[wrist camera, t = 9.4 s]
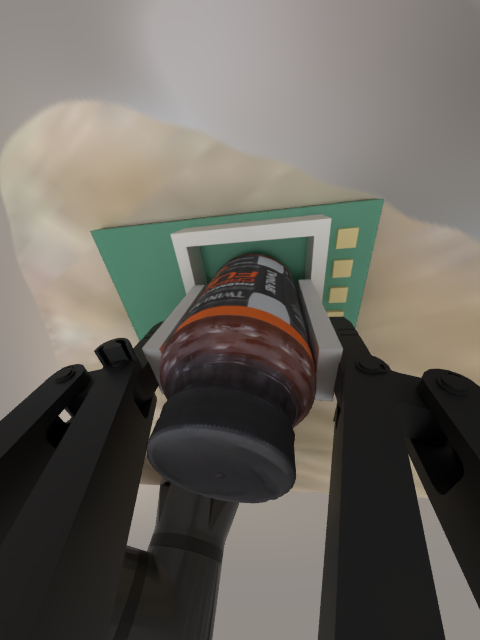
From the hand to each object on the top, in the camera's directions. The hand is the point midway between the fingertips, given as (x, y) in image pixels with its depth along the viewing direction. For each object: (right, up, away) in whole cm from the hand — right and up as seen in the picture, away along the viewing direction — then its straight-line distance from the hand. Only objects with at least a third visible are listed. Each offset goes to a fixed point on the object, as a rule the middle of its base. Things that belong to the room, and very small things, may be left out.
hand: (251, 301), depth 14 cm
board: (-1, +1, +4) cm, 5 cm away
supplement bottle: (0, +1, +1) cm, 2 cm away
